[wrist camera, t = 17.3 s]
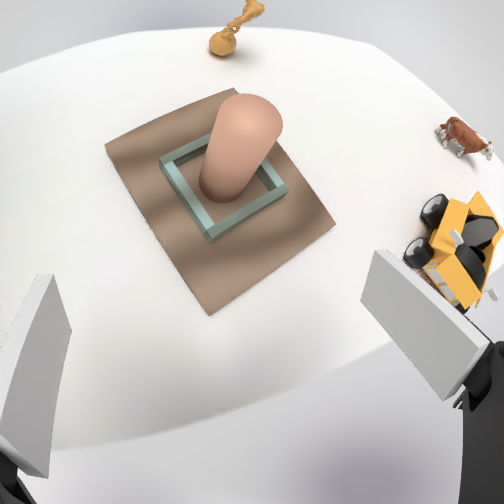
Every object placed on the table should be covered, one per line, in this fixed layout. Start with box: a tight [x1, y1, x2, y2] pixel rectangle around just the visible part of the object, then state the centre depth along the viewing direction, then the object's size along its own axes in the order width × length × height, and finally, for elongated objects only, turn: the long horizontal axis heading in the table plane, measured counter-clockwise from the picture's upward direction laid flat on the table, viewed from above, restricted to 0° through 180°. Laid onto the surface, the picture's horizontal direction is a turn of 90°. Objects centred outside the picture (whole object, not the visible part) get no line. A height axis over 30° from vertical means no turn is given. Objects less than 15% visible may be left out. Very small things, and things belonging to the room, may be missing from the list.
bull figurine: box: [436, 117, 494, 161], centre depth 46 cm, size 4×13×8 cm, turn 71°
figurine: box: [209, 0, 265, 56], centre depth 33 cm, size 8×6×12 cm
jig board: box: [105, 88, 336, 315], centre depth 33 cm, size 22×18×4 cm
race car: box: [404, 191, 504, 315], centre depth 37 cm, size 15×15×11 cm
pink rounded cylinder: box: [199, 94, 283, 203], centre depth 27 cm, size 5×5×12 cm
